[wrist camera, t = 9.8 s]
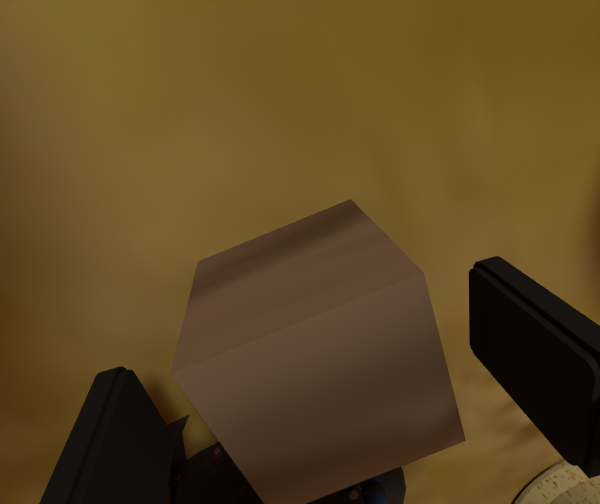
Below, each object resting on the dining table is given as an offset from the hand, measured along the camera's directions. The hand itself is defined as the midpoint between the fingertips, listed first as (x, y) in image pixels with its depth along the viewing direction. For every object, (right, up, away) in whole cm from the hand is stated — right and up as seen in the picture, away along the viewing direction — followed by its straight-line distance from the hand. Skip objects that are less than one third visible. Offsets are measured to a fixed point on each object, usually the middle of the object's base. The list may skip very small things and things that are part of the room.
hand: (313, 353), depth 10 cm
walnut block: (0, +1, +5) cm, 5 cm away
